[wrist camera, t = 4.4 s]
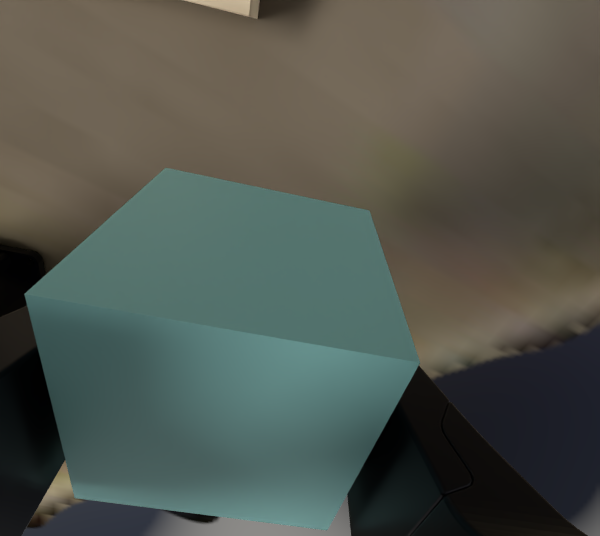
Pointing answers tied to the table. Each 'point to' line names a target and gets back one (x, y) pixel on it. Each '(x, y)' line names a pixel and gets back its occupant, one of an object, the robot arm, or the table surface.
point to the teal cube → (223, 351)
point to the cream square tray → (232, 6)
